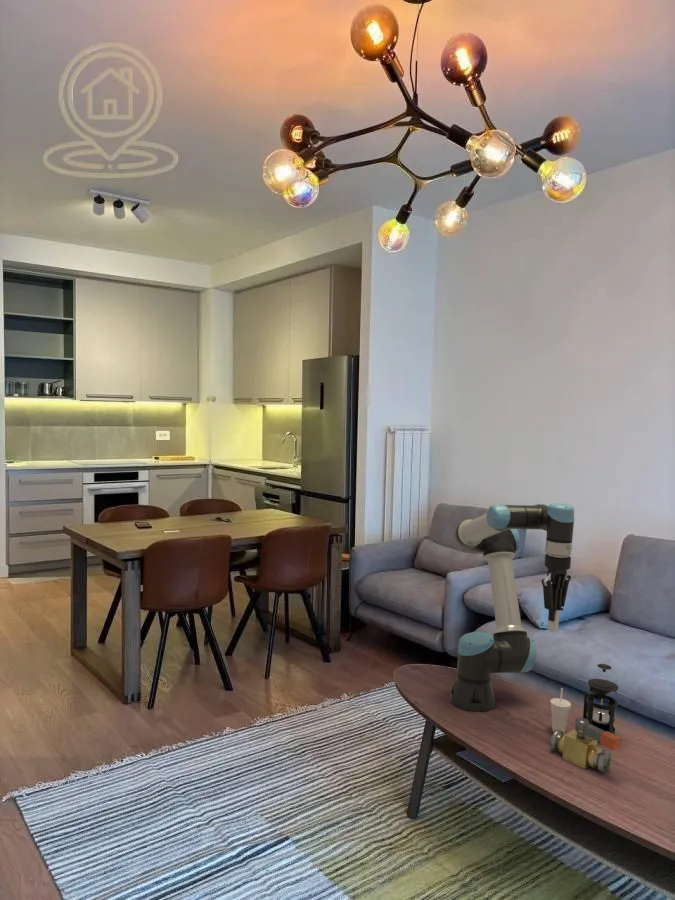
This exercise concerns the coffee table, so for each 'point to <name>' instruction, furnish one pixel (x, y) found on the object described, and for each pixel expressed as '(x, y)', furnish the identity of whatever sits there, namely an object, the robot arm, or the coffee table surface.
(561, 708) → the smoothie
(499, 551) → the robot arm
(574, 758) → the pipe valve
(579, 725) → the lever
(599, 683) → the french press
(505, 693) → the coffee table surface
